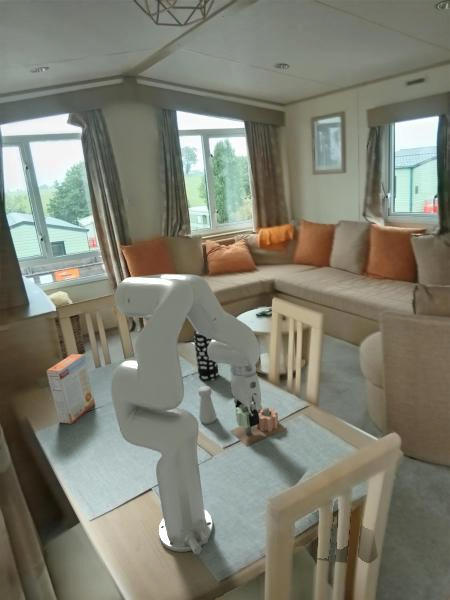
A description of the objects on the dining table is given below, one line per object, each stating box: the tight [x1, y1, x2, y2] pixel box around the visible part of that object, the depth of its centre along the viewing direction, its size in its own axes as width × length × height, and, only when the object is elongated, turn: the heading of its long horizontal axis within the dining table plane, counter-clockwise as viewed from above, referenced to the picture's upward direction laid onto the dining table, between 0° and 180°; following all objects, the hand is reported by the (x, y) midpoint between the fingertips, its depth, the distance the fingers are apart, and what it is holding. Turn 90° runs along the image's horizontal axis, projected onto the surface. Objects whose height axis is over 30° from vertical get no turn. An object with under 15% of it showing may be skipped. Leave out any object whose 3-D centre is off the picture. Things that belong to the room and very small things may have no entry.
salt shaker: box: [197, 385, 217, 425], centre depth 137 cm, size 6×6×13 cm
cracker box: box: [46, 353, 96, 425], centre depth 150 cm, size 14×6×21 cm, turn 161°
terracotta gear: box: [257, 407, 279, 432], centre depth 132 cm, size 7×7×4 cm
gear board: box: [229, 407, 287, 447], centre depth 130 cm, size 10×15×7 cm, turn 120°
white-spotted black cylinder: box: [192, 329, 220, 382], centre depth 169 cm, size 8×8×20 cm
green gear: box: [235, 404, 256, 428], centre depth 127 cm, size 7×7×4 cm
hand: (247, 419), depth 128 cm, fingers closed on green gear, 6 cm apart
